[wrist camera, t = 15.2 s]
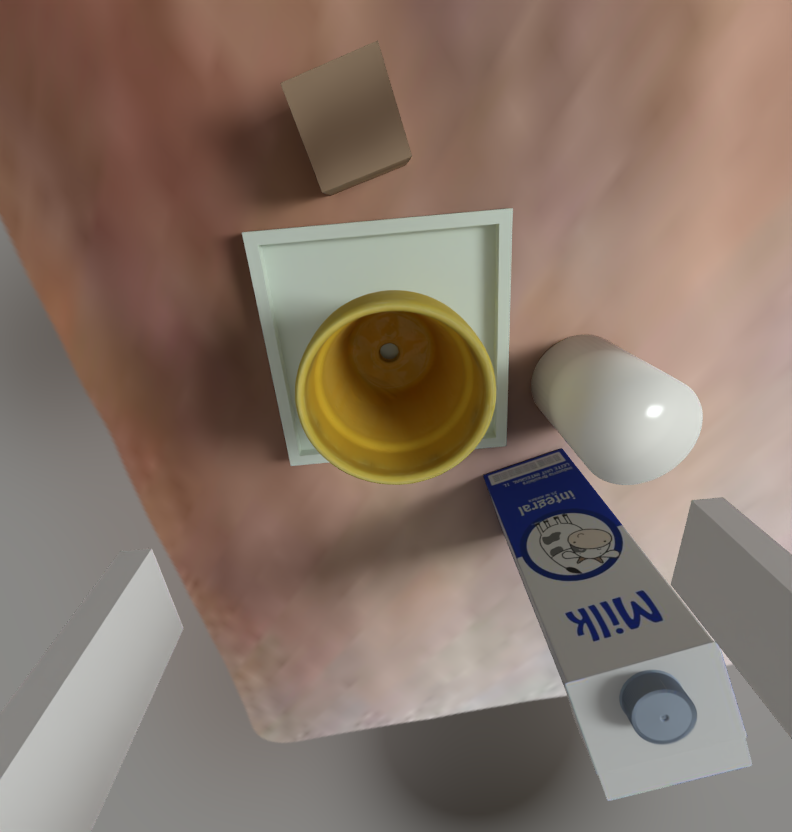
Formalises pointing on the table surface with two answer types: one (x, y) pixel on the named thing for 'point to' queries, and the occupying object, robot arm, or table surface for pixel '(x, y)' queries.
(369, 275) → the tray
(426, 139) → the table surface
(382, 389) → the plant pot
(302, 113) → the walnut block
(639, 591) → the milk carton
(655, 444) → the white rounded capsule
